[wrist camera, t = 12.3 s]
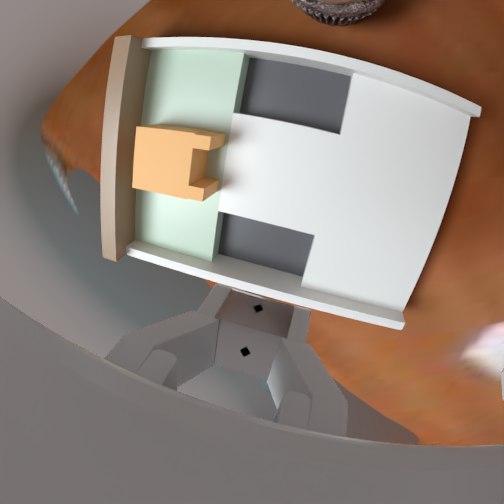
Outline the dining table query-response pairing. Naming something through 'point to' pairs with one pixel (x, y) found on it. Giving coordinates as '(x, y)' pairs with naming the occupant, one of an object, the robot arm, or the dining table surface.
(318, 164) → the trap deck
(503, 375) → the die
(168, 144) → the block
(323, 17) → the cupcake
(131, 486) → the robot arm
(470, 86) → the dining table surface
